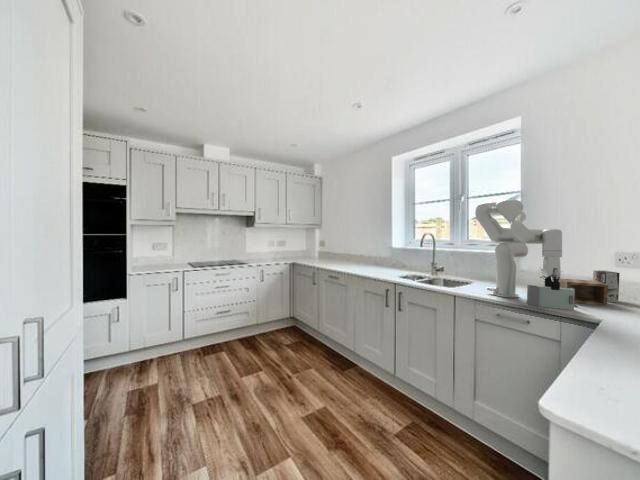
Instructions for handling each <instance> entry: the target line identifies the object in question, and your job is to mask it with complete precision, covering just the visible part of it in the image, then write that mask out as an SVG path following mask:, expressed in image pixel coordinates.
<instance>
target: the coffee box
mask: <svg viewBox="0 0 640 480" xmlns="http://www.w3.org/2000/svg"><path fill="white" fill-rule="evenodd" d="M592 272H593V274H592V281H599V282H602V283H604V284H607V285H608V295H607V303H619V294H620V293H619V292H620V272H616V271H609V270H592Z"/></svg>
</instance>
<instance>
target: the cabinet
mask: <svg viewBox="0 0 640 480" xmlns="http://www.w3.org/2000/svg"><path fill="white" fill-rule="evenodd" d="M560 288H567V289H574V290H575V296H574V308H578V307H579V306H578V305H576V304H581V303H582V304H584V305H593V306H603V307H608V302H607V295H608V285H607V284H604V283H602V282H599V281H593V279H592V280H589V279H588V280H587V279H575V278H574V279H573V278H562V277H560Z"/></svg>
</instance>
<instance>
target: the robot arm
mask: <svg viewBox="0 0 640 480" xmlns="http://www.w3.org/2000/svg"><path fill="white" fill-rule="evenodd" d="M523 210H524V204H523V202H521V201H520V200H518V199H501V200H499V201H497V202H496V201H484V202H481V203H478V205H477V206H476V207H475V212H474V213H475V218H476V220H477V222H478V223H479V224H480V225H481V227H482V228H483V230H484V231H485V233H486V234H487V237H488V239H490V241H491V242H492V243H494V244H497V245H496V246H495V249H494V253H495V256H496V258H495V259H496V276H495V278H496V279H495V280H496V282H495V286H494V287H490V286H486V290H487V291H490V292H492V294H493V295H494V296H498V297H502V298H510V299H511V298H512V299H513V298H514V299H515V298H517V299H518V298H519V297H520V295H519V294H518V293H516V292H517V291H516V288H517V264H516V261H515V259H522V258H524V257H527V256H528V253H529V249H528V245H529V244H531V245H533V244H536V245H538V244H539V245H540V244H542V245H541V246H542V247H541V250H542V251H541V253H542V255H541V256H542V257H543V261H542V269H543V271H542V276H543V275H544V276H545V278H544V279H545V280H544V281H545V286H546V287H551V290H560V278H561V275H562V274H561V258H563V231H562V230H561V229H558V228H556V229H553V228H551V229H549V228H547V229H536V228H535V229H534V228H533V229H531V228H530V229H529V228H528V227H527V226H526V225H525V224H523V222H525V220H526V218H527V214H526V213H525V212H523ZM493 216H498V217H499V216H502V217H503V218H504V219H505V220H506V221H507V222H508V223H509V224H510V227H502V226H501V224H500V223H499V222H498V220H497V219H496V218H494V217H493ZM553 278H554V279H553Z"/></svg>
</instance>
